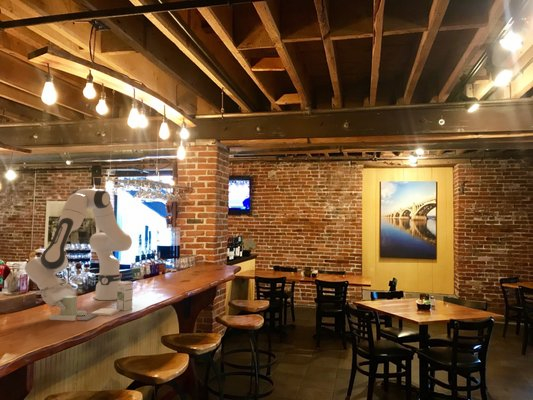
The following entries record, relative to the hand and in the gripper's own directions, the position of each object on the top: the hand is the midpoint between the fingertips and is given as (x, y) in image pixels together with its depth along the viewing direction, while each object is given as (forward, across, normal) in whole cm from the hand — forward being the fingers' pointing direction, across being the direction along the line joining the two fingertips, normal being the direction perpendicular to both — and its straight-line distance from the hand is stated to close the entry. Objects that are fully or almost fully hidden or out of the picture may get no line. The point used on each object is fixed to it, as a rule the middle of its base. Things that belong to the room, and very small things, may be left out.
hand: (70, 307), depth 190 cm
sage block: (+3, 0, +4) cm, 5 cm away
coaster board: (+12, +10, -6) cm, 17 cm away
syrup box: (+17, +19, -10) cm, 28 cm away
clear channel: (+5, 0, +2) cm, 5 cm away
